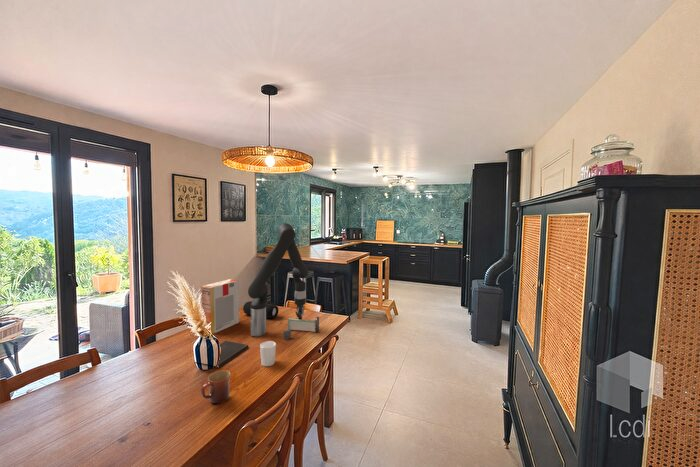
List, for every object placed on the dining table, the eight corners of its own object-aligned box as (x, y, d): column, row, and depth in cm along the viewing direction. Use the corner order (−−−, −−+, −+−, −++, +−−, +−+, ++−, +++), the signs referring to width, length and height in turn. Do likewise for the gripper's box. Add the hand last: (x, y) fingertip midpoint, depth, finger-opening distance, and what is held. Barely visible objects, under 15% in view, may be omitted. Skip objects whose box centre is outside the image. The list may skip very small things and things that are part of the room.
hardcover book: (193, 363, 148) (193, 359, 148) (225, 344, 170) (225, 340, 170) (218, 369, 143) (218, 364, 143) (248, 348, 165) (248, 344, 165)
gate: (315, 330, 189) (315, 320, 189) (314, 331, 187) (314, 321, 187) (288, 328, 192) (288, 318, 192) (287, 329, 190) (287, 319, 190)
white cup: (279, 361, 151) (279, 342, 150) (268, 368, 144) (268, 349, 143) (267, 357, 154) (267, 339, 153) (256, 364, 147) (256, 345, 146)
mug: (222, 390, 125) (222, 367, 125) (235, 397, 121) (235, 374, 120) (195, 405, 115) (195, 381, 115) (208, 414, 111) (208, 388, 110)
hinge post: (315, 333, 187) (316, 318, 186) (314, 331, 189) (315, 316, 188) (319, 332, 187) (319, 317, 187) (318, 331, 190) (318, 316, 189)
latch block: (284, 339, 176) (284, 331, 176) (283, 337, 179) (283, 330, 178) (290, 338, 178) (290, 330, 177) (289, 337, 180) (289, 329, 180)
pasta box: (230, 320, 205) (230, 279, 203) (239, 322, 202) (238, 280, 200) (202, 332, 185) (201, 286, 182) (211, 334, 181) (210, 287, 179)
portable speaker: (279, 316, 216) (279, 303, 215) (271, 320, 206) (271, 307, 206) (250, 311, 224) (250, 299, 223) (242, 316, 215) (242, 303, 214)
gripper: (302, 300, 184) (302, 326, 186) (308, 294, 197) (308, 318, 199) (291, 299, 185) (291, 325, 187) (297, 293, 198) (297, 318, 200)
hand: (300, 322), depth 193 cm, fingers closed
